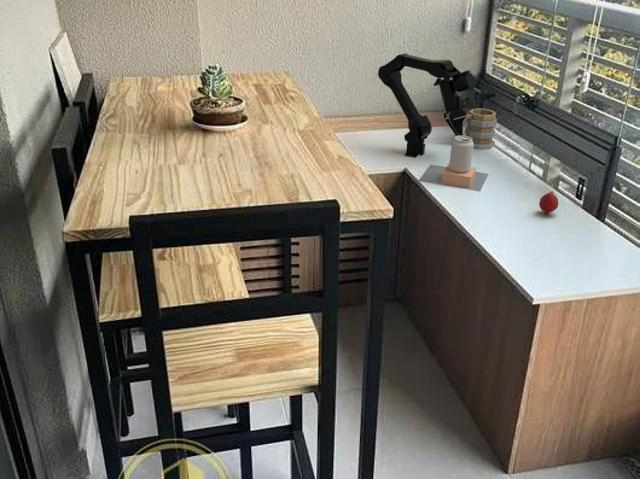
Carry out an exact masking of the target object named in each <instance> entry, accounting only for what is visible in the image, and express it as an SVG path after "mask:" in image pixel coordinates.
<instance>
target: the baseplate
mask: <svg viewBox="0 0 640 479" xmlns="http://www.w3.org/2000/svg"><path fill="white" fill-rule="evenodd" d="M446 167H447V166H442V165H437V164H429V165H428V167H427V168H426V170H425V171H424V172H423V173H422V175H421V177H420V178H419V179H418V182H422V183H423V182H424V183H429V184H435V185H439V186H440V185H441V186H445V187H452V188H458V189H464V190H470V191H475V192H481V190H482V189H483V186H484V184H485V182H486V181H487V179H488V176H489V173H487V172H486V173H485V172H480V171H476V172H475V178H474V180H473V182H472V184H471V186H470V188H467V187H461V186H455V185H450V184H444V183H441V181H442V173H443V171H444V170H445V168H446Z"/></svg>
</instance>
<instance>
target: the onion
mask: <svg viewBox="0 0 640 479" xmlns="http://www.w3.org/2000/svg"><path fill="white" fill-rule="evenodd" d="M554 193H555V192H554V190H551V191H549V192H548V193H545V194H544V195H542V196H541V197H540V199H539V203H538V206H539V208H540V209H541V211H542V212H544V213H545V214H546V213H547V215H548V213H549V214H550V213H553V212H555V211H556V210H557V209H558V207H559V199H558V197H557V196H556V194H554Z"/></svg>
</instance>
